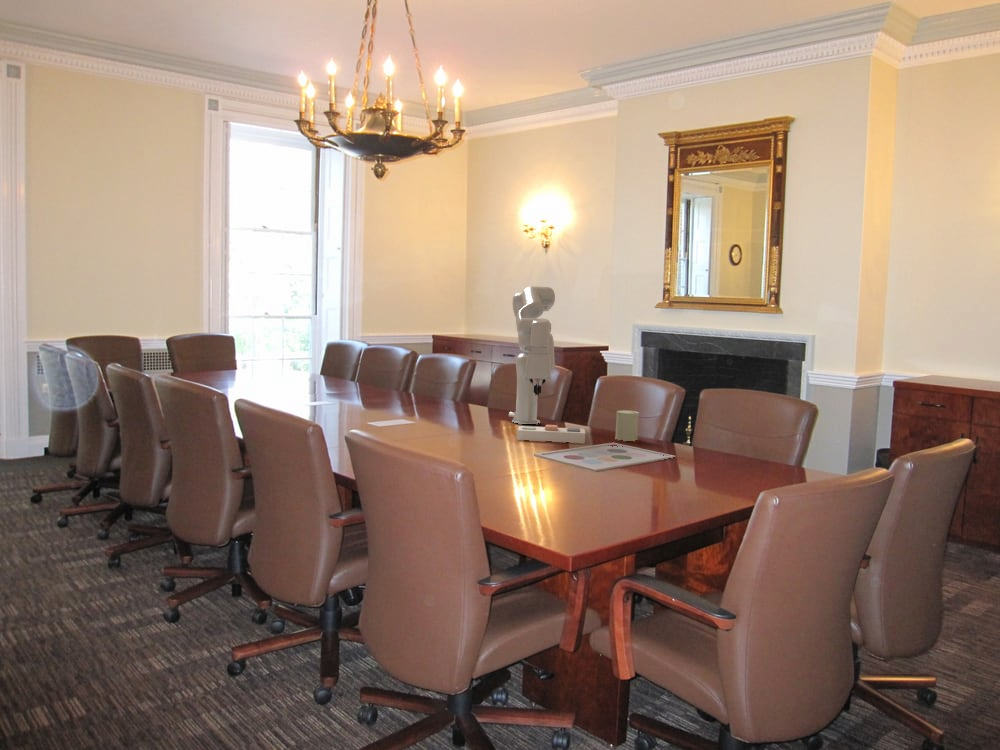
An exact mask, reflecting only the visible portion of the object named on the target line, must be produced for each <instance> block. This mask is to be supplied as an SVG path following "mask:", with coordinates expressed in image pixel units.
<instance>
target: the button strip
mask: <svg viewBox="0 0 1000 750" xmlns="http://www.w3.org/2000/svg"><path fill="white" fill-rule="evenodd" d="M523 426H524V425H518V428H517V431H516V432H517V433H516V440H517V441H524V440H529V441H530V442H545V441H552V443H566V442H570V443H572V444H586V430H585V428H579V429H580V432H569V431H568V428H569V427H557V431H547V430H545V426H533V425H531V426H532V427H535V430H526V429H523ZM529 441H528V442H529Z"/></svg>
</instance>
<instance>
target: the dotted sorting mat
mask: <svg viewBox="0 0 1000 750" xmlns="http://www.w3.org/2000/svg"><path fill="white" fill-rule="evenodd" d="M608 445H609V446H608ZM610 445H617V446H618V447H617V446H613V447H612V446H610ZM622 446H623V447H622ZM663 455H664V456H663ZM533 457H538V458H541V459H545V460H548V461H553V462H557V463H561V464H565V465H567V466H568V465H569V466H573V467H576V468H580V469H584V470H587V471H588V470H589V471H591V472H601V471H605V470H611V469H618V468H624V467H629V466H635V465H636V466H637V465H641V464H648V463H654V462H658V461H659V460H660V461H664V459H666V460H669V459H668V458H671V459H674V458H673V457H675V458H676V455H673V454H667V453H665V452H659V451H655V450H649V449H644V448H641V447H636V446H631V445H627V444H621V443H617V442H608V443H602V444H601V443H600V444H594V445H587V446H581V447H580V446H579V447H573V448H565V449H558V450H552V451H545V452H538V453H533Z"/></svg>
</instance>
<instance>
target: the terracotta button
mask: <svg viewBox="0 0 1000 750" xmlns="http://www.w3.org/2000/svg"><path fill="white" fill-rule="evenodd" d="M544 427H545V430H547V431H557V428H558V424H556V425H555V424H545V426H544Z"/></svg>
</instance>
